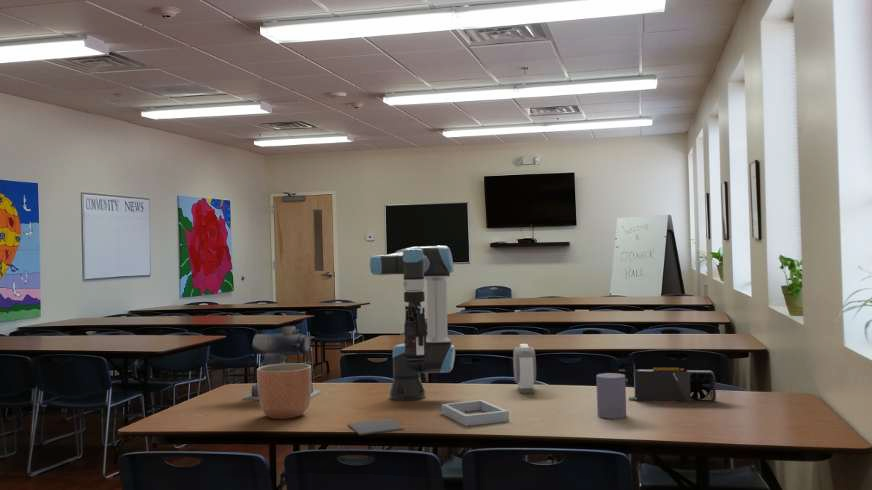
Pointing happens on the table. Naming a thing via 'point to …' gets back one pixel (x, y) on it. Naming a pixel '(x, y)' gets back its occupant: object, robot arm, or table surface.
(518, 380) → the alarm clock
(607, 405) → the container
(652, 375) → the graphics card
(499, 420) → the bin
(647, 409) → the table surface
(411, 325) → the camera lens
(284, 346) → the grinder
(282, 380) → the planter
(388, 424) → the mat
